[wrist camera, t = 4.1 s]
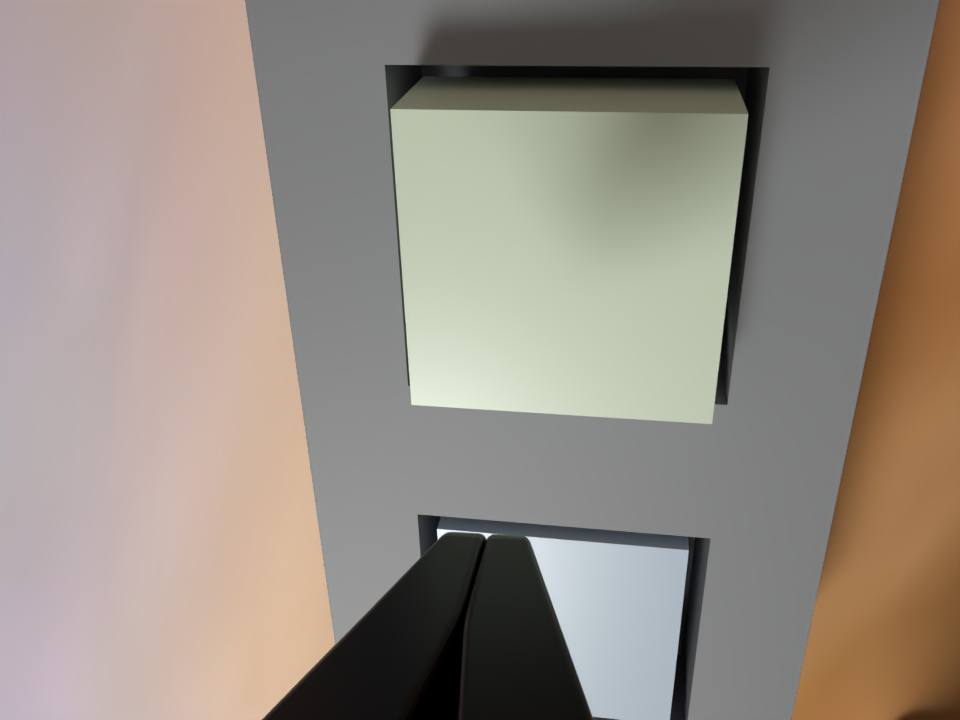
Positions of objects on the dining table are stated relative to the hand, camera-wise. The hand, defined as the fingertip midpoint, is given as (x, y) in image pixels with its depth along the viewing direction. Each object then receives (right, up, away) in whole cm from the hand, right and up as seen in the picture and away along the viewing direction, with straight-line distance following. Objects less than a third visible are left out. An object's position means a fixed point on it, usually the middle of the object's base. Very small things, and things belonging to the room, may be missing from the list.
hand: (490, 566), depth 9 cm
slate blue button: (+1, -2, +8) cm, 8 cm away
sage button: (+1, +4, +3) cm, 5 cm away
